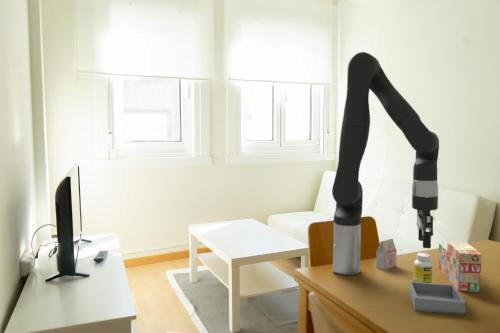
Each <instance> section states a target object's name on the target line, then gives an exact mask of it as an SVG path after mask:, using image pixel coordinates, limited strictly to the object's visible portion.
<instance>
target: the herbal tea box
mask: <svg viewBox="0 0 500 333" xmlns="http://www.w3.org/2000/svg"><path fill="white" fill-rule="evenodd" d="M395 245H396V244H395V243H394V238H388V239H385V240H381V241H380V243H379V245H378V247H377V249H376V256H375V257H376V259H375V260H376V262H375V267H376V268H378V269H381V270H384V271H385V270H389V269H391V268H395V267H397V248H396V246H395Z"/></svg>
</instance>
